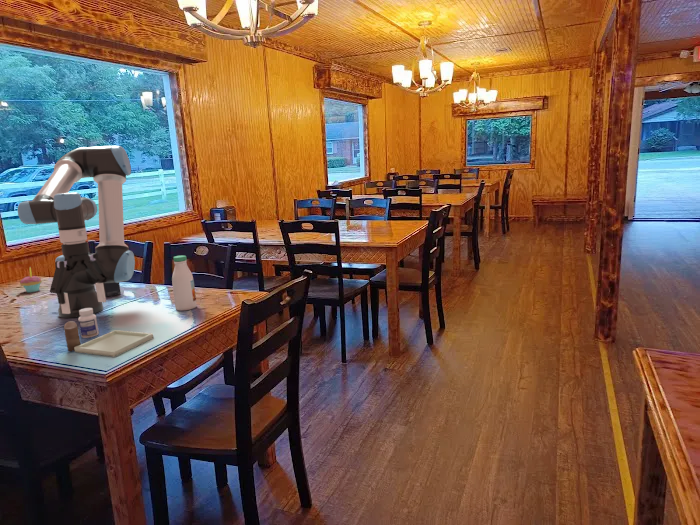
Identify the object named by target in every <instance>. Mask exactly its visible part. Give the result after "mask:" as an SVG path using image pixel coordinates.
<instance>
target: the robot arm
mask: <svg viewBox="0 0 700 525" xmlns="http://www.w3.org/2000/svg"><path fill="white" fill-rule="evenodd" d="M131 174H132V166H131V161H130V159H129V156H128V154H127V151H126V150H125V148H124V147H123V146H121V145H102V146H88V147H87V146H85V147H84V146H83V147H78V148H75V149H72V150H71V151H69V152H67V153H66V154H64V155H63V156H62V157H60V158H59V159H58V160H57V161H56V163H55V164H54V165H53V172H52V174H50V176H49V177H48V179H47V180H46V181H45V182H44V184H43V185H42V187H41V188H40V190H39V191H38V192H37V194H35V196H34V197H33V199H32V200H26V201H21V202H19V204H18V206H17V215H18V217H19V220H20V221H21V222H22V223H23V224H24V225H40V224H41V225H42V224H54V223H57V228H58V235H59V242H60V243H61V245H60V246H61V253H62V255H59V256H57V257H56V258H55V260H54V261H55V262H54V266H55V269H54V274H53V277H52V281H51V284H50V290H49V293H50V294H56V296H57V297H56V298H57V301H58V305H59V306H58V310H57V312H58V316H59V317H60V318H64V319H71V318H73V319H75V318H79V317H80V316H81V315H80V314H79V310H81V309H84V308H93V314H97V313H99V312H101V311H103V309H104V303H106V302H107V299H106V298H107V297H105V290H106V289H105V283H114V282H116V283H119V284H120V283H121V282H129V280H131V279H132V277H133V275H134V271H135V267H136V266H135V265H136V261H135V260H136V259H135V255H134V253H133V251H132V250H130V248H129V246H128V245H127V244H126V242H125V226H124V199H123V198H124V197H123V196H124V195H123V185H124V184H125V183H126V182H127V176H130V175H131ZM85 178H93V181H94V182H95V183H96V184H97V194H98V196H97V198H98V202H97V203H98V204H96V202H95V201H94V200H93V199H92V198H89V197H84V196H83V197H81V194H80V193H79V192H70V190H71V188H72V187H73V185H74V184H75V183H77V182H79V181H80V180H81V179H85ZM97 213H98V230H99V231H98V232H99V235H98V236H99V243H98V244H97V246H95V248H94V250H95V251H94V252H95V253H90V247H89V242H88V241H87V240H88V235H87V229H86V228H87V227H86V222H85V221H89V220H91V219H93V218H94V217H95V216H96V215H97Z"/></svg>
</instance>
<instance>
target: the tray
mask: <svg viewBox="0 0 700 525" xmlns="http://www.w3.org/2000/svg"><path fill="white" fill-rule="evenodd" d="M152 339H154V333H149V332H142V331H141V332H140V331H130V330H129V331H127V330H119V329H114V330H112V331H110V332H107V333H105V334H103V335H100V336H98V337H95V338H93V339H91V340H88V341H86V342H84V343H81V345H79V346H76V347H74V350H75V351H74V352H75V353H77V354H78V353H80V354H86V353H87V354H88V355H96V356H102V357H103V356H104V357H112V358H115V357H117V356H119V355H120V356H121V354H124V353H126V352H128V351H130V350H131V349H135V348H136V347H139V346H140V345H142V344H144V343H147V342H148V341H151V340H152Z"/></svg>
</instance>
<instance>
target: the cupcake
mask: <svg viewBox="0 0 700 525" xmlns="http://www.w3.org/2000/svg"><path fill="white" fill-rule="evenodd" d="M42 281H43V280H42V279H41V277H39V276H37V275H32V268H31V267H29V276H25V277H23V278H22V279H21V280H20V281H19V284H20V286H21V287H23V288H24V289H25V291H26V292H27V293H35V292H39V291H40V286H41V283H42Z"/></svg>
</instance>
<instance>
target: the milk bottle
mask: <svg viewBox="0 0 700 525" xmlns="http://www.w3.org/2000/svg"><path fill="white" fill-rule="evenodd" d="M187 261H188V260H187V256H186V255H176V256H173V264H174V269H173V273H172V277H171V281H172V282H171V283H172V285H171V286H172V292H173V300H174V306H175V307H174V308H175V309H176V311H189V310H193V309H196V308H197V296H196V295H197V294H196V289H195V288H196V287H195V281H194V277H193V273H192V272H191V270H190V268H189V266H188V263H187Z"/></svg>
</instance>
